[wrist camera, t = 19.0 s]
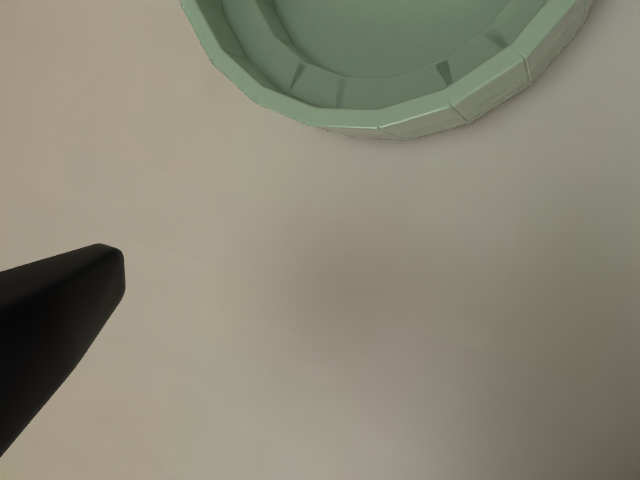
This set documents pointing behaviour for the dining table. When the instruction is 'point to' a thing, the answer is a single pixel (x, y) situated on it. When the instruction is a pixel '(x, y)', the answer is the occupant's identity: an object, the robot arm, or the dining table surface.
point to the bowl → (383, 57)
